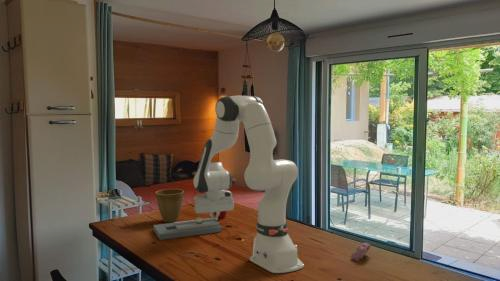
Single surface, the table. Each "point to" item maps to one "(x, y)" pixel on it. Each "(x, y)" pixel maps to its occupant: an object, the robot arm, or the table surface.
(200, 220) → the ball
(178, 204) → the plant pot
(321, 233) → the table surface
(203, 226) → the hole board
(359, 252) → the pink plastic figure
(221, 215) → the plastic cup
